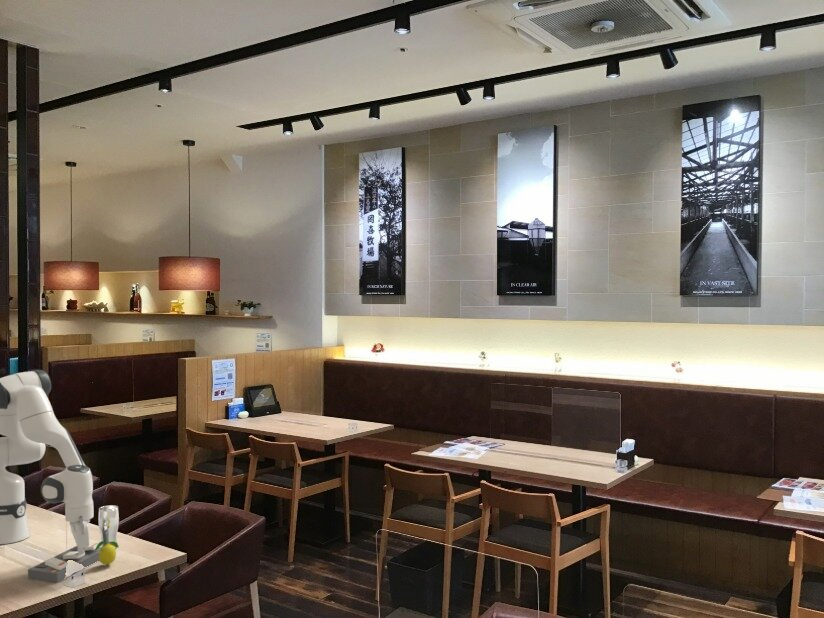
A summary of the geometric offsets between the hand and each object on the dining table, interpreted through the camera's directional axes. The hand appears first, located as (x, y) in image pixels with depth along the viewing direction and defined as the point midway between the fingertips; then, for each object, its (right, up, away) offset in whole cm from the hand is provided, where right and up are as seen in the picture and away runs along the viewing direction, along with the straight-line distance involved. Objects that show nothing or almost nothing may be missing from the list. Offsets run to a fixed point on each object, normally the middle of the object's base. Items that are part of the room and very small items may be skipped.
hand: (80, 553), depth 253 cm
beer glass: (+1, -5, +20) cm, 21 cm away
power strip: (-5, -5, +2) cm, 7 cm away
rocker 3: (-1, -1, +9) cm, 9 cm away
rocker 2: (-3, -1, +1) cm, 3 cm away
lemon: (+8, -6, +3) cm, 10 cm away
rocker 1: (-5, -1, -6) cm, 8 cm away
